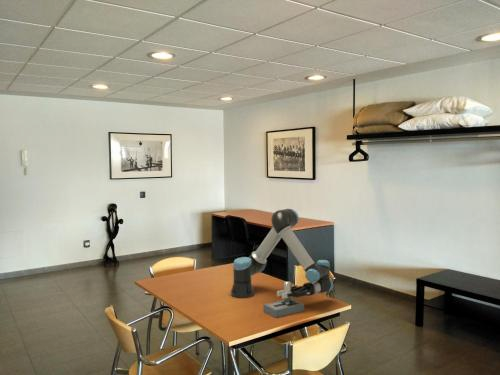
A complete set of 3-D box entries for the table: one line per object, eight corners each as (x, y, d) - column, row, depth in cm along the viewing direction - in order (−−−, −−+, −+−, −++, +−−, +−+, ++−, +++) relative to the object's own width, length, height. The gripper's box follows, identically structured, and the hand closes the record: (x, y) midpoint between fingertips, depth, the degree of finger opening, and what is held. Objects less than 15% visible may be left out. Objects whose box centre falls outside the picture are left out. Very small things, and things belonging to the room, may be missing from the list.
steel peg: (283, 308, 232) (283, 280, 232) (291, 308, 231) (291, 281, 231) (282, 311, 227) (282, 283, 227) (291, 311, 227) (291, 283, 226)
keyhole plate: (291, 305, 239) (291, 298, 239) (304, 310, 229) (304, 304, 228) (263, 311, 228) (263, 304, 228) (275, 317, 218) (275, 310, 218)
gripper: (320, 298, 232) (289, 305, 219) (301, 291, 246) (271, 297, 233) (320, 285, 231) (289, 292, 219) (301, 279, 246) (271, 284, 233)
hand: (279, 295), depth 226 cm, fingers closed on steel peg, 4 cm apart
